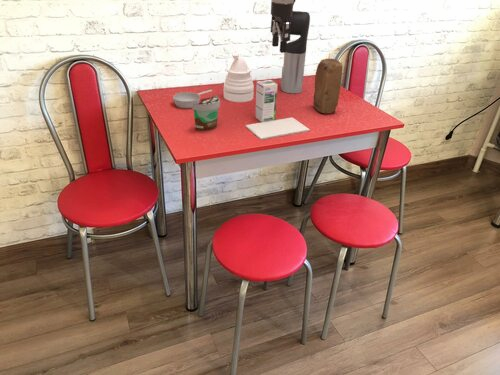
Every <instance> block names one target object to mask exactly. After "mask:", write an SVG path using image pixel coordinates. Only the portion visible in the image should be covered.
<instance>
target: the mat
mask: <svg viewBox="0 0 500 375" xmlns="http://www.w3.org/2000/svg"><path fill="white" fill-rule="evenodd" d="M245 128H246V129H248V130H249V131H250V132H251V133H252V134H253V135H254V136H255V137H257V138H258V139H259V140H261V141H262V140H269V139H275V138H278V137H284V136H289V135H290V136H291V135H295V134H300V133H306V132H307V133H308V132H310V130H311V129H310V128H308V127H307V126H305V125H304V124H302V123H301V122H299V121H298V120H297V119H296V118H294V117H287V118H280V119H275V120H274V121H268V122H256V123H251V124H246V125H245Z"/></svg>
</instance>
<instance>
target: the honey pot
mask: <svg viewBox="0 0 500 375" xmlns="http://www.w3.org/2000/svg"><path fill="white" fill-rule="evenodd" d="M232 59H234V60H233V61H232V62H231V66H229V67H227V69H226V71H227V75H226V77H225V79H224V83H223V98H224V99H225V100H227V101H229V102H234V103H245V102H250V101H252V100H253V99H254V96H255V95H254V94H255V92H254V91H255V88H254V87H255V86H254V85H255V84H254V83H253V78H252V75H251V72H252V69H251V68H250V67H248V65H247V62H246V61H245V60H244V59H243V57H241V56H240V54H237V53H234V54H233V53H232Z"/></svg>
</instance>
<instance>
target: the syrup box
mask: <svg viewBox="0 0 500 375" xmlns="http://www.w3.org/2000/svg"><path fill="white" fill-rule="evenodd" d="M255 93H256V96H255V119H257V120H258V121H259V123H262V122H268V121H274V120H276V115H277V114H276V113H277V98H278V83H277V82H276V81H275V80H271V79H268V80H256V92H255Z"/></svg>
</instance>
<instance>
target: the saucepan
mask: <svg viewBox="0 0 500 375" xmlns="http://www.w3.org/2000/svg"><path fill="white" fill-rule="evenodd" d="M211 92H213V89H208V90H205V91H202V92H201V91H200V92H199V93H197V92H192V91H191V92H190V91H183V92H182V91H181V92H177V93H175V94H173V96H172V98H173V102H174V104H175V106H176V107H177V108H179V109H192V108H193V103H194V104H199V103H200V102H201V96H202V95H205V94H207V93H211Z"/></svg>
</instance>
